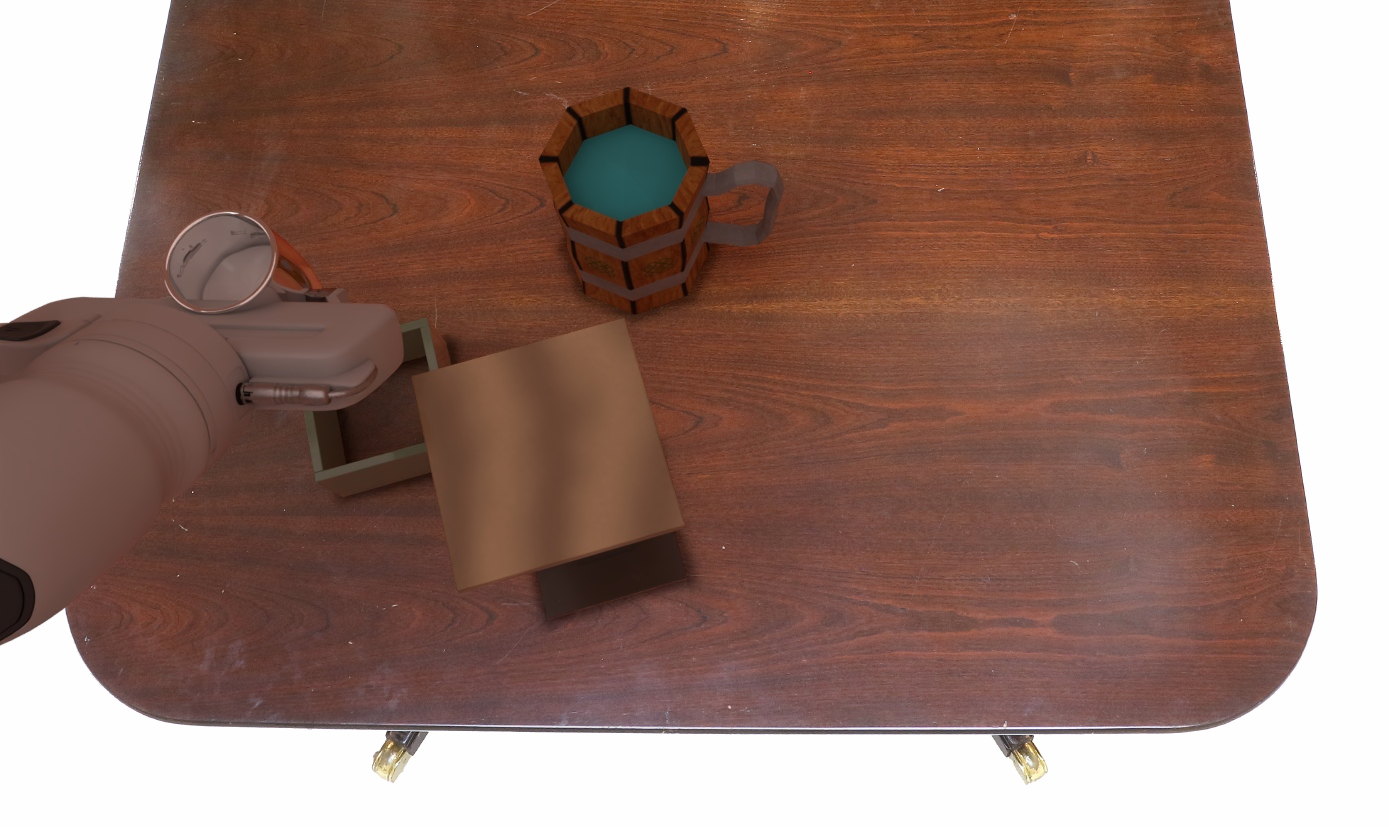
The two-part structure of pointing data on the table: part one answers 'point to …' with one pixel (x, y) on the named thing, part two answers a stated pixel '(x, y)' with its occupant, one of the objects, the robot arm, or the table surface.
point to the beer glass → (235, 264)
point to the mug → (643, 198)
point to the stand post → (611, 575)
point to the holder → (384, 467)
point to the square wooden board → (544, 455)
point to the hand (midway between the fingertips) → (274, 297)
